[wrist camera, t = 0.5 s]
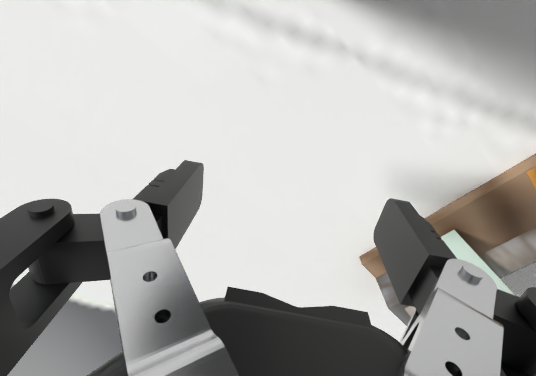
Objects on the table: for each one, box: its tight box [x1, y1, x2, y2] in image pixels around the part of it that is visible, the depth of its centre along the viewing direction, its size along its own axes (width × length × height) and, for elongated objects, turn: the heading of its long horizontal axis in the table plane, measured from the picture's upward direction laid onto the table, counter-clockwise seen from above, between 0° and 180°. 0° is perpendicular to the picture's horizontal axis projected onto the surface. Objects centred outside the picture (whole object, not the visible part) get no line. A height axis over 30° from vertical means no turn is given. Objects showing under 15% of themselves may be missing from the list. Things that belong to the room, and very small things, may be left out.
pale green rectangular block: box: [441, 230, 514, 295], centre depth 31 cm, size 4×8×12 cm, turn 43°
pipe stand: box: [360, 154, 536, 326], centre depth 32 cm, size 34×12×7 cm, turn 133°
